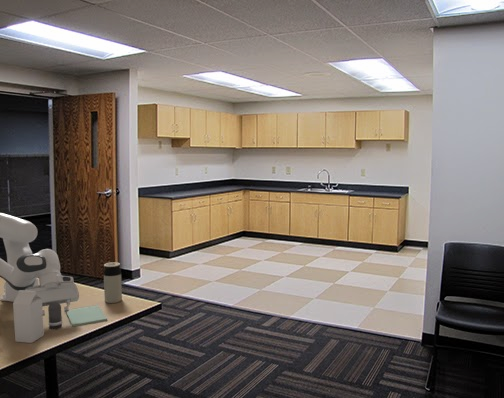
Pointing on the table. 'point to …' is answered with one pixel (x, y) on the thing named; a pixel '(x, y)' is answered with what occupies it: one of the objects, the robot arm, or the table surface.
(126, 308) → the table surface
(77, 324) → the sage green mat
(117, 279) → the travel mug
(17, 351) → the table surface
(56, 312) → the cylinder
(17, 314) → the milk carton
